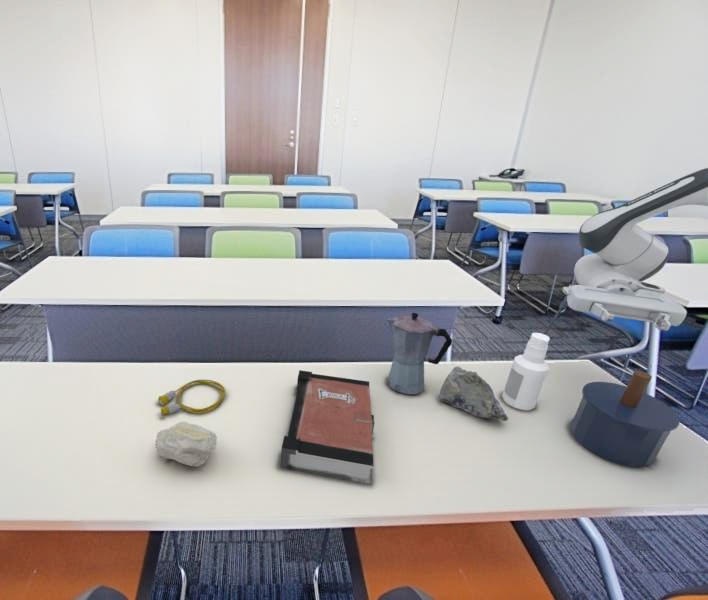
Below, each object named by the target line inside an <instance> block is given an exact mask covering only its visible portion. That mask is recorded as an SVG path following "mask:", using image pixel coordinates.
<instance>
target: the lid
mask: <svg viewBox="0 0 708 600" xmlns="http://www.w3.org/2000/svg"><path fill="white" fill-rule="evenodd" d="M652 378H653V376H652V375H651V374H649V373H648V372H646V371H643V370H642V371H641V370H634V371H633V372H632V375H631V376H630V379H629V381H628V383H627V385H623V384H619V383H615V382H609V381H591V382H588V383H586V384H584V385H583V387H582V389H581V394H582V398H583V397H584V399H585V400H586V401H587V402H588V403H589V404H590V405H591V406H592V407H594V408H595V409H596V410H598V411H599V412H601V413H603V414H604V415H606V416H608V417H610V418H612V419H614V420H616V421H619V422H621V423H623V424H626V425H629V426H632V427H635V428H639V429H643V430H648V431H655V432H668V431H671V432H672V431H675V430H677V428H678V427H679V425H680V418H679V416H678V415H677V413H676V412H675V411H674V410H673V409H672V408H671V407H670V406H668V404H666V403H664V402H663V401H661V400H659V399H658V398H656V397H654V396H652V395H650V394H649V393H646V390H647V388H648V386H649V384H650V382H651V380H652Z"/></svg>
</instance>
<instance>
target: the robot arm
mask: <svg viewBox="0 0 708 600" xmlns="http://www.w3.org/2000/svg"><path fill="white" fill-rule="evenodd" d="M694 205H695V206H703V207H708V167H705V168H703V169H702V168H701V169H699V170H696V171H694V172H692V173H689V174H686V175H684V176H682V177H680V178H677V179H675V180H673V181H670V182H669V183H666V184H664V185H662V186H660V187H658V188H656V189H653V190H652V191H648V192H647V193H645V194H643V195H640V196H638V197H636V198H633V199H632V200H630V201H628V202H625V203H623V204H621V205H618V206H615V207H613V208H609V209H606V210H604V211H601V212H598V213H596V214H593V215H592V216H591V217H589V218H587V220H585V221H584V222H583V224H581V226H580V227H579V232H578V241H579V242H578V243H579V245H580V247H582V248H583V249H585V250H587V251H589V252H591V253H589V254H585V255H583V256H582V257H580V258H579V259H578V260H577V261H576V263H575V265H574V267H573V276H574V279H575V282H576V283H577V284H573V285H568V286H563V287H562V292H563V294H564V295H566V302H567V306H568V307H569V308H570V309H571V310H573V311H576V312H582V313H588V314H592V315H595V316H597V317H598V318H600V319H602V321H603V322H608V323H609V322H611V323H612V322H614V319H615V318H621V319H626V320H634V321H640V322H646V323H652V324H654V327H655V328H656V330H659V331H665V332H668V331H669V330H670V328H671V327H679V326H680V325H681V324H682V323H683V321H684V320H685V318H686V316H687V314H688V311H687V309H686V308H685V307H684V306H683V305H682V304H681V303H680V302H679V301H678V300H676V299H675V298H674V297H672V296H671V295H669V294H666V289H665V288H664V287H662V286H659V285H655V284H651V283H648V282H645V281H646V280H648V279H650V278H651V277H653V276H655V275H656V274H657V273H658V272H660V271H661V270H662V269H663V268H664V267H665V265H666V264H667V261H668V259H669V256H670V248H669V246H668V245H667V244H666V243H664V242H663V241H661V240H660V239H658V238H657V237H656V236H654V235H653V234H651V233H649V232H648V231H646V230H645V229H644V228H642V227H641V226H639V225H638V224H639V223H641V222H644V221H646V220H649V219H651V218H654V217H656V216H658V215H661V214H663V213H665V212H668V211H670V210H673V209H675V208H678V207H682V206H694Z"/></svg>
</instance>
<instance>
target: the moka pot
mask: <svg viewBox="0 0 708 600" xmlns="http://www.w3.org/2000/svg"><path fill="white" fill-rule="evenodd" d="M386 321H387V322H388V323H389V327H390V330H391V333H392V336H393V359H392V363H391V366H390V370H389V374H388V378H387V384H388V386H389V388H390V389H393V391H395V392H397V393H401V394H402V395H403V394H404V395H417V394H421V393H423V392H425V361H426V356H428V353H429V349H430V345H431V342H432V339H433V336H434V337H443V338H444V339H445V342H444V343H443V345H442V347H441V348H440V350H439V352H438V354H437V356H436V357H435V358H434V359H432V358H428V359H427V362H428V363H429V364H432V365H439V364H440V362H441V361H442V360H443V358H444V356H445V354H446V353H447V351H448V350H449V349H450V347H451V346H452V343H453V339H452V338H451V336H450V334H448V333H449V332H448V331H447V329H446V328H440V327H437V326H434V323H433V322H431V321H429V320H427V319H425V318H422V317H419V313H418V312H412V313H411V314H410V315H403V316H392V317H389V318H387V319H386Z"/></svg>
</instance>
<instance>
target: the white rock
mask: <svg viewBox="0 0 708 600" xmlns="http://www.w3.org/2000/svg"><path fill="white" fill-rule="evenodd" d="M154 445H155V449H156V452H157V454H158V455H159V456H160V457H161V458H163V459H169V460H174V461H176V462H177V463H180V464H183V465H186V466H190V467H200V466H202V465H204V464H205V463H206V461H207V459H208V458H209V456H210V455H211V452H212V451H214V450H215V449H216V448H217V447H216V445H217V435H216V432H214V431H212V430H210V429H207V428H205V427H203V426H200V425H197V424H194V423H190V422H187V421H179V422H177V423H175V424H174V425H171V426H169V428H165V429H161V430H159V431H158V432H157V434H156V439H155V444H154Z"/></svg>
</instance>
